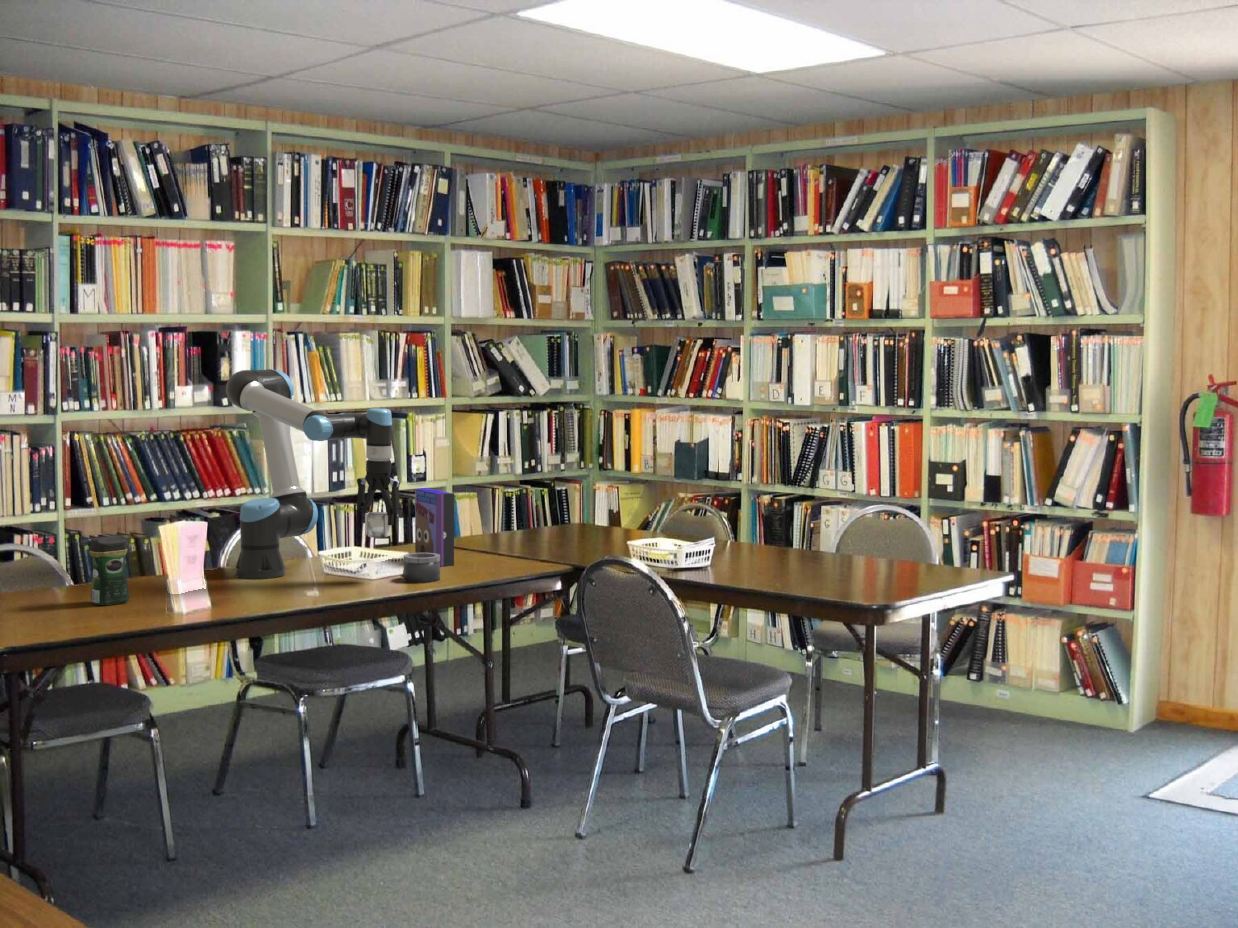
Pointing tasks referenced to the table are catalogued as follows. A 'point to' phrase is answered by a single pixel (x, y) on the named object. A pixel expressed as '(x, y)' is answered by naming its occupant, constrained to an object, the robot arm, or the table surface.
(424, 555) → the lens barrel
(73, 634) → the table surface
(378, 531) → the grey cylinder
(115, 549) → the coffee jar
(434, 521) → the cereal box
